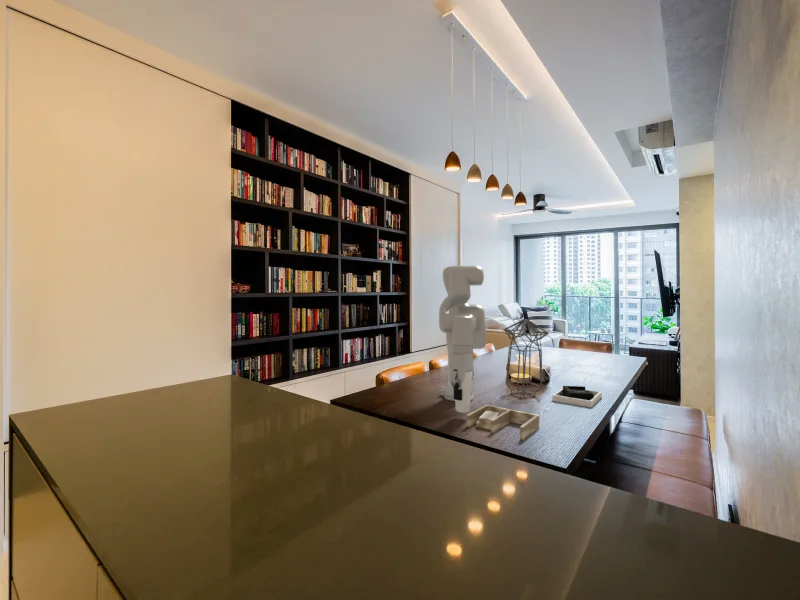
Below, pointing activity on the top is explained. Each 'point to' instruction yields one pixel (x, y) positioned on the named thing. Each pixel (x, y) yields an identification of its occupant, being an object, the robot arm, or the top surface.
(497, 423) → the rack
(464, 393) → the white vase
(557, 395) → the charger tray
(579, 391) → the battery charger
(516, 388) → the geometric lantern
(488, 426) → the board
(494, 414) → the offcut top
